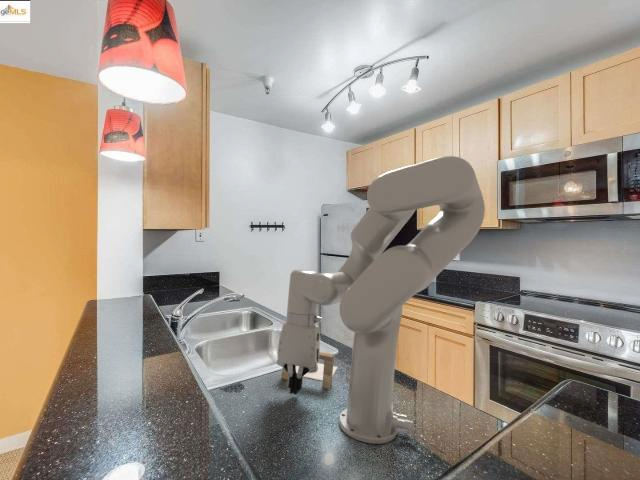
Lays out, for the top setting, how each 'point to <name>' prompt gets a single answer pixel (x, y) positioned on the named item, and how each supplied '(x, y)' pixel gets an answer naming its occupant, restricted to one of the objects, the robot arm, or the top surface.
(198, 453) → the top surface
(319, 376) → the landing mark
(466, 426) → the top surface
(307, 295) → the robot arm
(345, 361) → the top surface
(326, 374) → the bridge
